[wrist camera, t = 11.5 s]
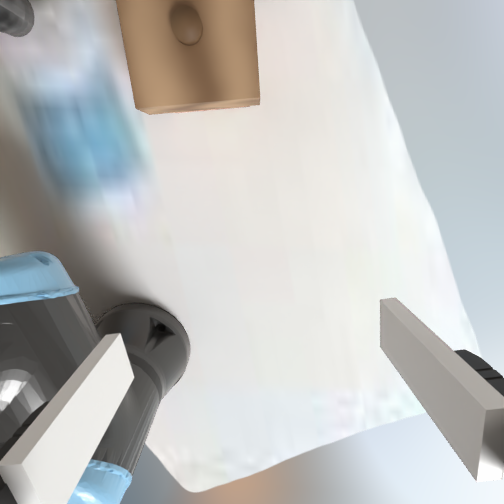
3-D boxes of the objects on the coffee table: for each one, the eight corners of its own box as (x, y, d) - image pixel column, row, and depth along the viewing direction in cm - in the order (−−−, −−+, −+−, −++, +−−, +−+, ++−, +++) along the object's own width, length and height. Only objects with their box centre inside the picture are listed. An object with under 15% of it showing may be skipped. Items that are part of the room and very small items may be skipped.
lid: (149, 114, 29) (131, 106, 25) (126, -22, 25) (101, -57, 21) (259, 104, 28) (260, 95, 24) (250, -35, 25) (249, -73, 21)
